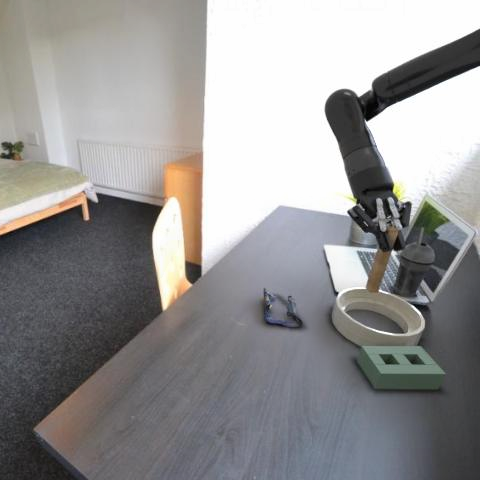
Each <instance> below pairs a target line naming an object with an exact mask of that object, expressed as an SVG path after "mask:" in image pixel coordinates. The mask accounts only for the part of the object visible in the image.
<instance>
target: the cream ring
mask: <svg viewBox="0 0 480 480" xmlns="http://www.w3.org/2000/svg"><path fill="white" fill-rule="evenodd" d="M353 310H365V311H370V312H374V313H377V314H380V315H382V316H384V317H387V318H389V319H390V320H392V321H393V322H394V323H396V324H397V325H398V326H399V327H400V328H401V329H402V331H403V333H393V332H386V331H381V330H378V329H375V328H372V327H370V326H366V325H364V323H361V322H359V321H357V320H356V319H354V318H353V317H351V315H349V314H348V312H350V311H353ZM331 321H332V324H333V326H334V327H335V329H336V330H337V331H338V332H339V333H340V334H341V335H342V336H343V337H345V338H346V339H347V340H349V341H350V342H351V343H353V344H356V345H357V346H359V347H361V346H418V344H419V342H420V339H421V337H422V335H423V333H424V330H425V327H426V320H425V318H424V316H423V314H422V313H421V311H420V310H418V308H416V307H415V305H413V304H411V303H410V302H409V301H407V300H406V299H404V298H402V297H400V296H397V295H395V294H393V293H390V292H387V291H384V290H382V289H381V290H380V289H379V291H378V293H370V292H369V291H368V290H367V289H366V288H365V287H350V288H346V289H343V290H342V291H340V292H338V294H337V296H336V298H335V301H334V305H333V308H332V312H331Z"/></svg>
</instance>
